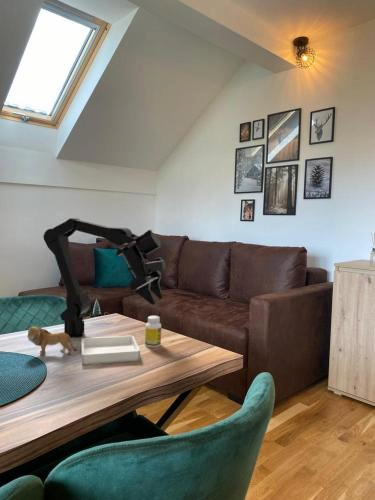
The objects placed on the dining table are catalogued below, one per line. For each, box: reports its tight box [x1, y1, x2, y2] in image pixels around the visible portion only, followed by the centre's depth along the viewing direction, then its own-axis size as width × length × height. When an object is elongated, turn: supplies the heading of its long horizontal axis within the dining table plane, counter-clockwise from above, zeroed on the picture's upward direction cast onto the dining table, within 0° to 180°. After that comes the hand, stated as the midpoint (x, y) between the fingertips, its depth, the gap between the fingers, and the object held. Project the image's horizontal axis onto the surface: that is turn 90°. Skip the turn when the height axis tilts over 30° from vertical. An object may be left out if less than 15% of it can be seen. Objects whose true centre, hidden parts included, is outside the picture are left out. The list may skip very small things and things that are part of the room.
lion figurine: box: [27, 326, 78, 357], centre depth 117 cm, size 15×5×9 cm, turn 107°
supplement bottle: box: [144, 315, 162, 348], centre depth 128 cm, size 5×5×10 cm
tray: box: [80, 334, 141, 366], centre depth 119 cm, size 17×15×3 cm
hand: (157, 301), depth 128 cm, fingers open, 9 cm apart
